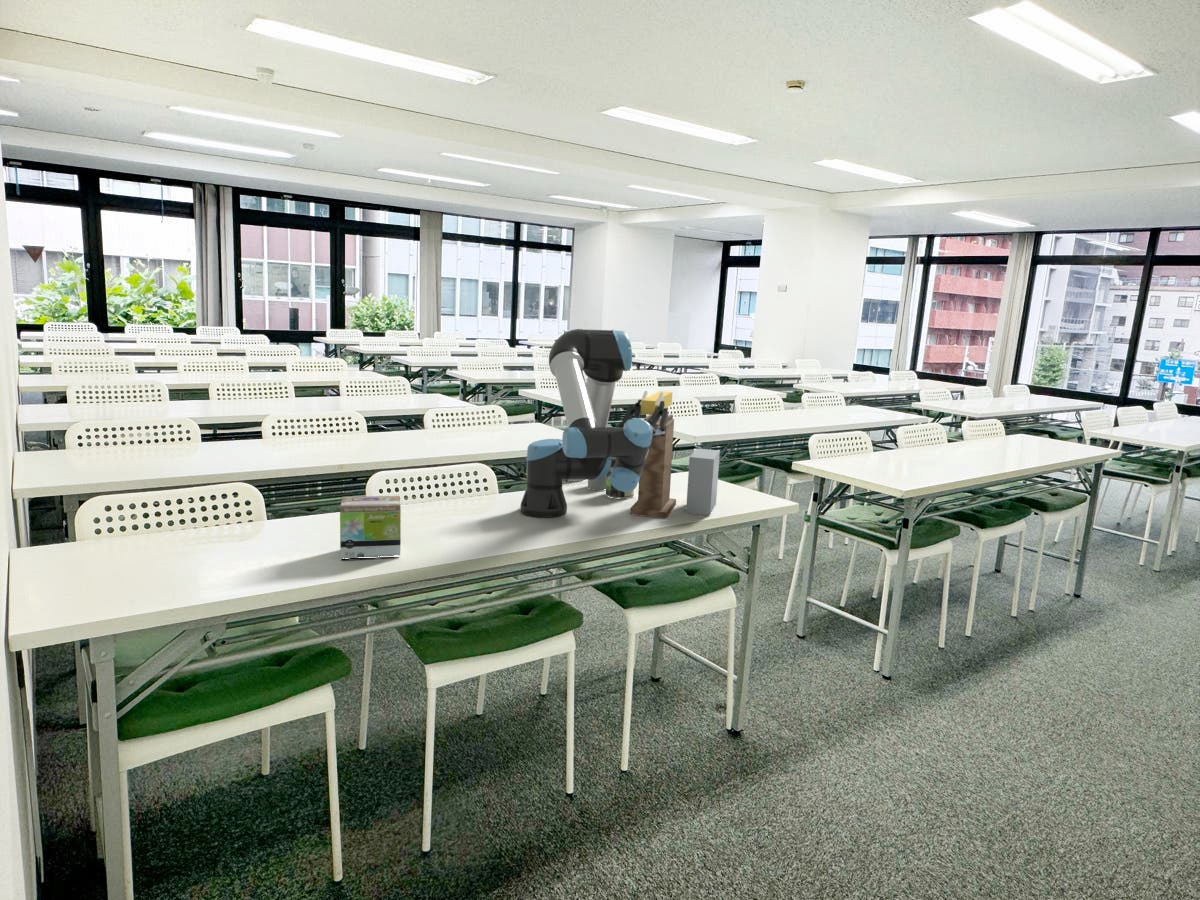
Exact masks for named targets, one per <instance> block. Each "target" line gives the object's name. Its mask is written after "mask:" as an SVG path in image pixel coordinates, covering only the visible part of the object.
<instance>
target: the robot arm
mask: <svg viewBox="0 0 1200 900" xmlns="http://www.w3.org/2000/svg"><path fill="white" fill-rule="evenodd" d="M632 350H633V349H632V344H631V340H630V337H629V335H628V333H627V332H626V331H624V330H615V329H611V330H610V329H609V330H608V329H607V330H606V329H582V328H575V329H571V330H568V331H566V332H564V333H563V334H562V335H560V336H559V337H558V338H557V339H556V340H555V341H554V343H553V345H552V346H551V348H550V351H549V354H548V355H549V356H548V366H549V370H550V372H551V374H552V375H553V377H555V379H556V380H555V381H556V382H557V383H556V384H557V387H558V392H559V395H560V396H559V397H560V401H561V406H562V407H563V413H564V417H565V421H566V424H567V425H566V426H567V427H566V428H565V429H564V430H563V432H562V437H561V438H562V439H560V438H545V439H540V440H536V441H534V442H531V443H530V444H528V446H527V451H526V458H525V459H526V485H525V486H526V488H525V491H524V494H523V497H522V499H521V503H520V509H519V510H520V513H522V514H524V515H526V516H529V517H533V518H555V517H560V516H564V515H565V514H567V511H568V504H567V501H566V496H565V493H564V490H563V481H567V480H583V481H584V480H588V479H590V480H594V479H601V478H604V477H605V476H606V475H607V474H608V472H609V469H610V466H611V457H616V459H615V463H614V466H613V469H612V470H611V475H610V482H611V484H612V486H613V487H614V488H615V489H617V490H620V491H623V492H629V491H632V490H634V491H635V489H637V486H638V485H639V480H640V476H641V473H642V470H643V466H644V463H645V461H646V458H647V455H648V452H649V449H650V446H651V443H652V440H653V438H654V437H655V436H656V435H660V434H661V436H665V426H666V422H667V418H668V416H669V413H668V412H669V411H668V407H667V408H664V406H665V405H664V401H663V392H660V395H659V398H658V401H657V403H656V411H655V412H654V413H653V415H652V416H651V418H650V419H648V420H647V421H645V420H644V418H643V419H642V418H641V400H643V399H645V398H647V397H649V395H648V391H647V390H645V391H644V392H643V394H642V398H641V399H638V400H637V402H635V404H634V405H635V406H633V405H629V406H628V408H627V410H626V411H625V414H624V416H623V419H622V421H620V422H619V424H618V427H608V423H609V418H610V412H611V408H612V403H613V399H614V398H613V397H614V393H615V392H614V391H615V387H616V383H617V382H619V381H620V380H621V379H622V377H623V375H624V374H623V373H624V372H628V371H630V370H631V368H632V366H633V351H632ZM585 376H586V378H587V379H585ZM633 415H634V417H633ZM660 418H661V420H660V424H659V425H660V426H658V428H657V430H655V429H654V426H655V424H656V423H657V422H658V420H659V419H660Z"/></svg>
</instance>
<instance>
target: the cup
mask: <svg viewBox="0 0 1200 900" xmlns="http://www.w3.org/2000/svg"><path fill="white" fill-rule="evenodd" d="M606 478H607V475H606V476H605V477H604V478H601V479H594V480H590V479H587V488H588V489H589V488H590V489H589V490H591V489H595V490H594V491H598V490H604V489H606ZM604 491H605V490H604Z"/></svg>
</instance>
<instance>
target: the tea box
mask: <svg viewBox="0 0 1200 900" xmlns="http://www.w3.org/2000/svg"><path fill="white" fill-rule="evenodd" d="M401 509H402V508H401V497H400V495H376V496H374V495H372V496H370V495H368V496H363V495H362V496H341V502H340V506H339V525H340V526H339V527H340V528H339V529H340V530H339V531H340V532H339V534H340V535H339V536H340V537H339V538H340V541H339V543H340V544H339V545H340V546H339V549H340V551H339V552H340V559H341V558H342V559H343V558H344V559H345V558H358V557H378V556H379V557H380V556H394V555H400V556H401V543H402V542H401V541H402V540H401V538H402V537H401V534H402V533H401V532H402V531H401V524H402V523H401V521H402V520H401V514H402V513H401V512H402V511H401Z"/></svg>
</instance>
